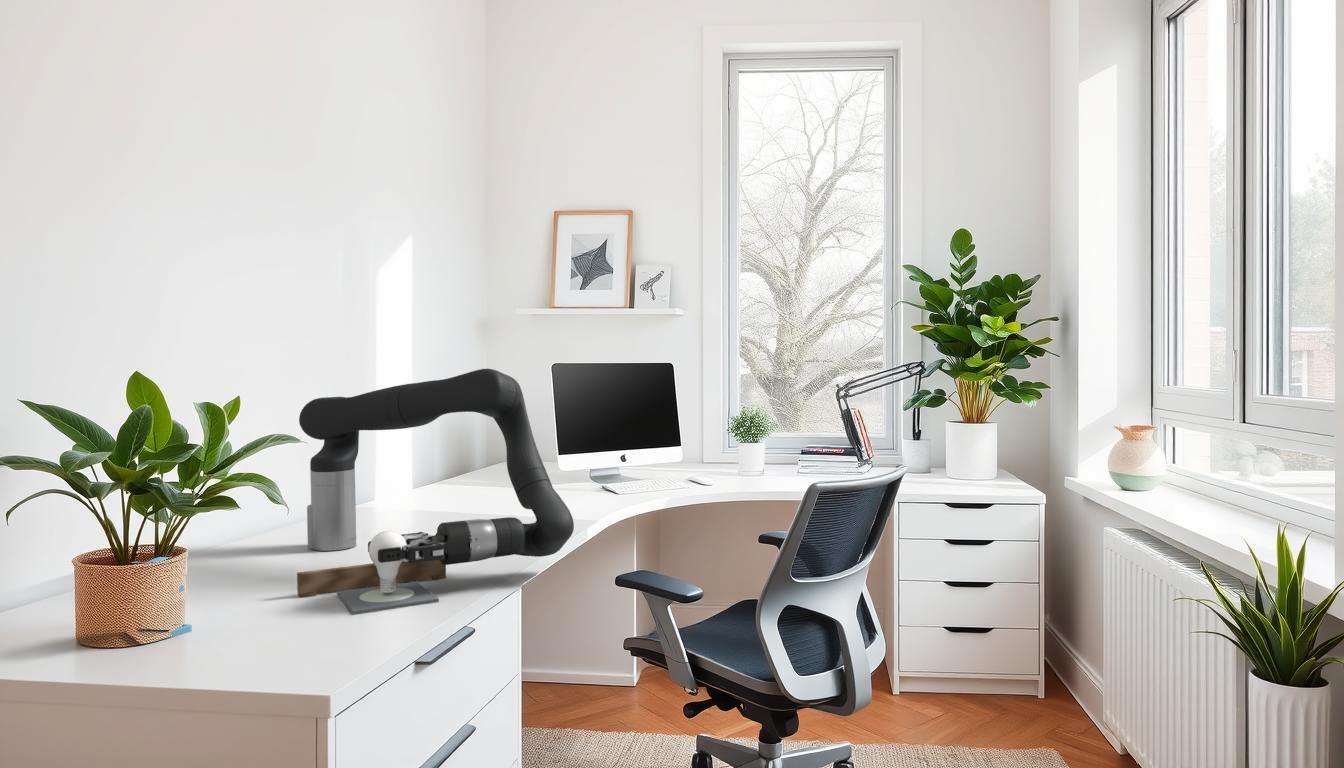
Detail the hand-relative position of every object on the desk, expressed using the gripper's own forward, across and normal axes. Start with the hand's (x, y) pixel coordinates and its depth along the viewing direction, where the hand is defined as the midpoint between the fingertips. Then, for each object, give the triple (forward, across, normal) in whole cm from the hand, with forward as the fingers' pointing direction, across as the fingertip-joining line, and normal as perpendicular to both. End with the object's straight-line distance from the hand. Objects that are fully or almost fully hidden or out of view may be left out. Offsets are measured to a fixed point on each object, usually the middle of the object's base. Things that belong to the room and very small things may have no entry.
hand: (373, 552), depth 153 cm
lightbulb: (-2, 0, +8) cm, 8 cm away
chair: (+33, +1, +8) cm, 34 cm away
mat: (-2, 0, +8) cm, 9 cm away
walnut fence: (-2, -10, +8) cm, 13 cm away
